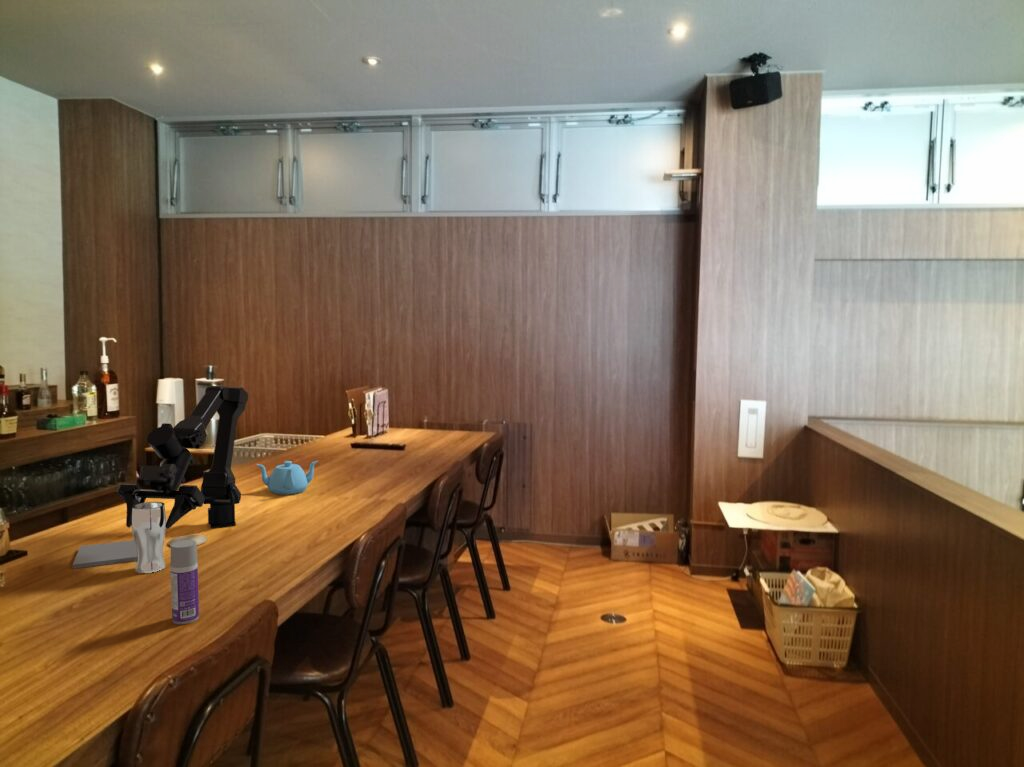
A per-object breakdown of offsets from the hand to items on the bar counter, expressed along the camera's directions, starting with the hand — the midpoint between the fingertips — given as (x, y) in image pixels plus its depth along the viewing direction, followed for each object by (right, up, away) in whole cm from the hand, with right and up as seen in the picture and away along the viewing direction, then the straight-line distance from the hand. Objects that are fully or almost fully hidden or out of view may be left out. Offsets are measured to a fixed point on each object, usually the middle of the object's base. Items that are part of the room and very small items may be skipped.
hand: (147, 527), depth 153 cm
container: (+20, -13, -24) cm, 34 cm away
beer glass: (0, -10, +2) cm, 10 cm away
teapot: (+8, -4, +72) cm, 73 cm away
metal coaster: (-1, -8, +20) cm, 22 cm away
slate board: (-14, -9, +10) cm, 20 cm away
